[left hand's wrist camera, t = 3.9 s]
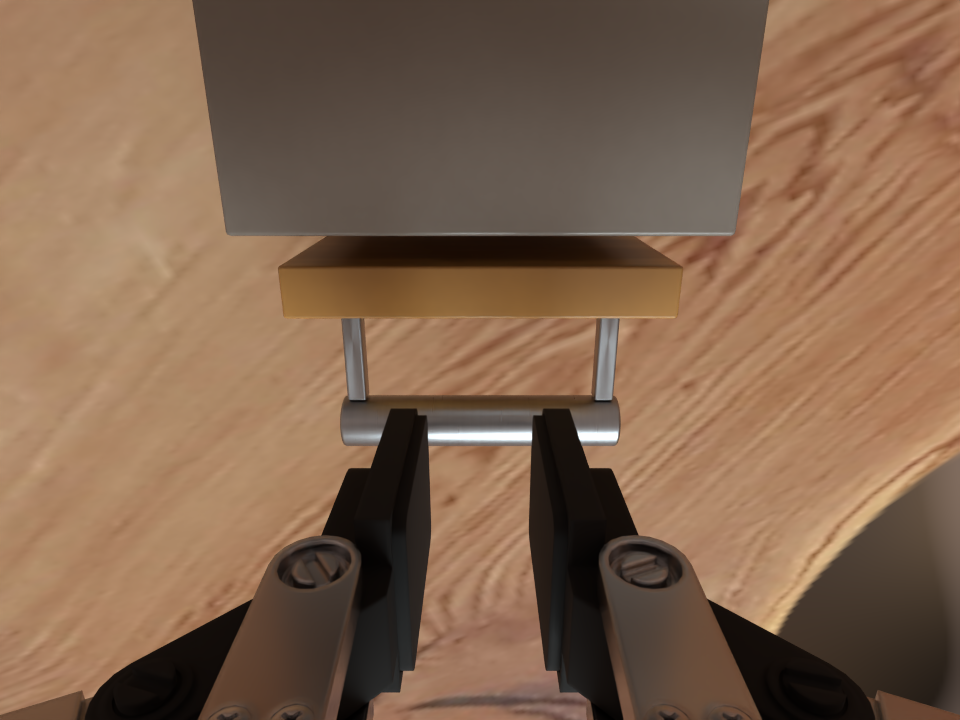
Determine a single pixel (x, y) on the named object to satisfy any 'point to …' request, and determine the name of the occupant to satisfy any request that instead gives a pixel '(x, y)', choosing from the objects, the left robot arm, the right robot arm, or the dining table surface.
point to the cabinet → (480, 115)
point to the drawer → (480, 294)
